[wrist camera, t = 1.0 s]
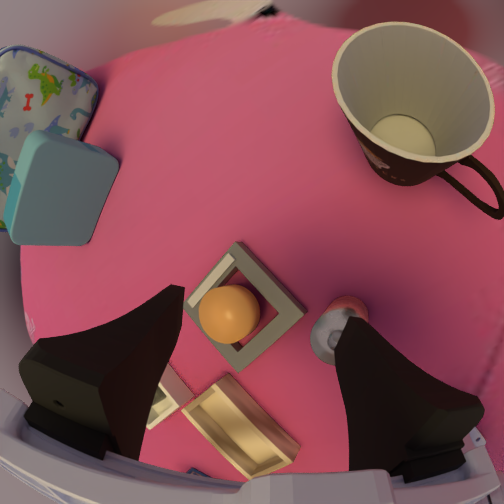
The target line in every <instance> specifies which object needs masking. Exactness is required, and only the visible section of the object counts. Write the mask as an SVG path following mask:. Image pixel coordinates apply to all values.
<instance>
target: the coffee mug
mask: <svg viewBox="0 0 504 504" xmlns="http://www.w3.org/2000/svg"><path fill="white" fill-rule="evenodd" d="M332 83H333V90H334V93H335V95H336V98H337V101H338V104H339V105H340V107H341V109H342V111H343V113H344V114H345V116H346V118H347V120H348V122H349V124H350V126H351V128H352V130H353V131H354V133H355V135H356V137H357V139H358V141H359V143H360V146H361V148H362V150H363V152H364V154H365V156H366V158H367V160H368V162H369V164H370V166H371V167H372V168H373V170H374V171H375V172H376V173H377V174H378V175H379V176H380V177H382V178H383V179H385V180H386V181H388V182H390V183H393V184H395V185H400V186H413V185H418V184H420V183H422V182H424V181H426V180H428V179H430V178H431V177H433V176H435V175H437V176H439V177H441V178H443V179H444V180H446V181H447V182H448V183H449V184H451V185H452V186H453V187H454V188H455V189H456V190H458V191H459V192H460V193H461V194H462V195H463V196H465V197H466V198H467V199H468V200H469V201H470V202H471V203H473V204H474V205H475V206H476V207H478V208H479V209H480V210H482V211H483V212H484V213H486V214H487V215H489V216H490V217H492V218H494V219H498V220H501V219H502V218H503V217H504V190H503V188H502V186H501V185H500V183H499V181H498V180H497V178H496V177H495V175H494V174H493V173H492V172H491V171H490V170H489V169H488V168H486V167H485V166H484V165H483V164H482V163H481V162H480V161H478V160H477V159H476V158H474V157H473V156H472V155H471V154H472V153H473V152H474V151H476V150H477V149H478V148H479V147H481V146H482V144H483V143H484V142H485V140H486V139H487V137H488V136H489V134H490V131H491V129H492V126H493V123H494V114H495V106H494V98H493V93H492V90H491V87H490V85H489V82H488V80H487V78H486V76H485V74H484V72H483V71H482V69H481V67H480V66H479V65H478V64H477V62H476V61H475V60H474V58H473V57H472V56H471V55H470V54H469V53H468V52H467V51H466V50H465V49H464V48H463V47H461V46H460V45H459V44H458V43H456V42H455V41H453V40H451V39H450V38H449V37H447V36H445V35H443V34H441V33H440V32H437V31H436V30H433V29H431V28H428V27H425V26H421V25H418V24H412V23H406V22H386V23H378V24H374V25H371V26H368V27H365V28H363V29H361V30H360V31H358V32H356V33H354V34H353V35H352V36H350V37H349V38H348V39H347V40H346V41H345V42H344V43H343V45H342V46H341V47H340V49H339V50H338V52H337V54H336V57H335V59H334V62H333V68H332ZM457 162H458V163H460V164H461V165H465V166H468V167H471V168H473V169H474V170H475V171H477V172H478V173H479V174H480V175H481V176H482V177H483V178H484V179H485V180H486V181H487V183H488V184H489V185H490V187H491V188H492V189H493V191H494V193H495V195H496V198H497V201H498V205H499V209H495V208H493V207H491V206H489V205H488V204H486V203H484V202H483V201H481V200H480V199H478V198H477V197H476V196H475V195H474V194H472V193H471V192H470V191H469V190H468V189H467V188H465V187H464V186H463V185H462V184H461V183H459V182H458V181H457V180H456V179H455V178H453V177H452V176H451V175H449V174H448V173H447V172H446V171H445V169H447V168H449V167H450V166H452V165H454V164H455V163H457Z"/></svg>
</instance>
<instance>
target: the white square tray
mask: <svg viewBox="0 0 504 504" xmlns="http://www.w3.org/2000/svg"><path fill="white" fill-rule="evenodd" d="M158 386H159V387H160V388H161V390H162V391H163V392H164V393H165V395H166V396H167V397H166V398H165V399H164V400H162V401H160V402H159V403H157V404H155V405H154V406H152V407H151V410H150V414H149V417H148V421H147V425H146V427H147V428H148V429H149V430H150V429H152V428H153V427H155V426H156V425H158V424H159V423H161V422H162V421H164V420H165V419H166V418H168V417H169V416H170V415H171V414H173V413H174V412H175V411H177V410H178V409H179V408H180V407H182V406H183V405H184V404H185V403H187V402H188V401H189V400H190V399H192V398H193V397H194V396H195V395H194V394H193V393H192V392H191V391H190V389H189V388H188V387H187V386H186V385H185V383H184V382H183V381H182V380H181V379H180V377H179V376H178V375H177V374H176V372H175V371H174V370H173V369H172V367H171V366H170V365H169V364H167V366H166V368H165V371H164V373H163V375H162V377H161V380H160V382H159V384H158Z"/></svg>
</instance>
